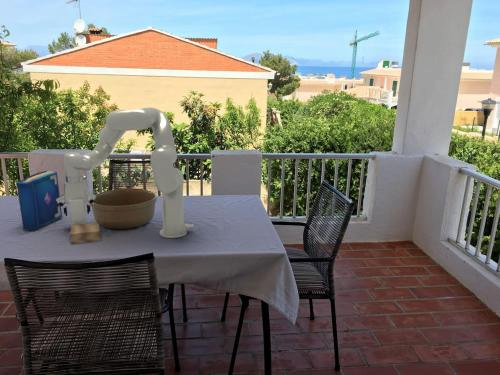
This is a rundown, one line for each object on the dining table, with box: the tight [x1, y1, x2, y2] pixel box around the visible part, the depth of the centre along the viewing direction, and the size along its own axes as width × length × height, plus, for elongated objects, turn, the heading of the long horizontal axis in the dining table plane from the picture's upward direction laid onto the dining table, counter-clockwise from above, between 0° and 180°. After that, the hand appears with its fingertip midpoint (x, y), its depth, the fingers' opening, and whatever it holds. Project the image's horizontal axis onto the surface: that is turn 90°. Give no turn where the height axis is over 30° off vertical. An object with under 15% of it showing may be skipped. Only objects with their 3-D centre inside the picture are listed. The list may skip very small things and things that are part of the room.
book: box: [15, 170, 63, 232], centre depth 198 cm, size 22×7×25 cm, turn 168°
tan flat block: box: [70, 221, 102, 245], centre depth 186 cm, size 12×12×5 cm
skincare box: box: [69, 199, 87, 225], centre depth 195 cm, size 8×7×16 cm
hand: (77, 214), depth 195 cm, fingers open, 9 cm apart
